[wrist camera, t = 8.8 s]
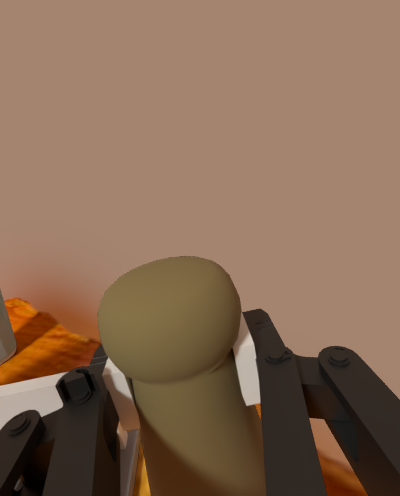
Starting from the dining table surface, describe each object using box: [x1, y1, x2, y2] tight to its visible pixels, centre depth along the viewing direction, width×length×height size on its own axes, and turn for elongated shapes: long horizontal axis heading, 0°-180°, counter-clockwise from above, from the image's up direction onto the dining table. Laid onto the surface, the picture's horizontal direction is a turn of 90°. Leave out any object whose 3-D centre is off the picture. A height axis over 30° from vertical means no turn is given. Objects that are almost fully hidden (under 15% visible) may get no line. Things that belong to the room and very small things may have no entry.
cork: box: [97, 256, 266, 496], centre depth 12 cm, size 6×6×11 cm
